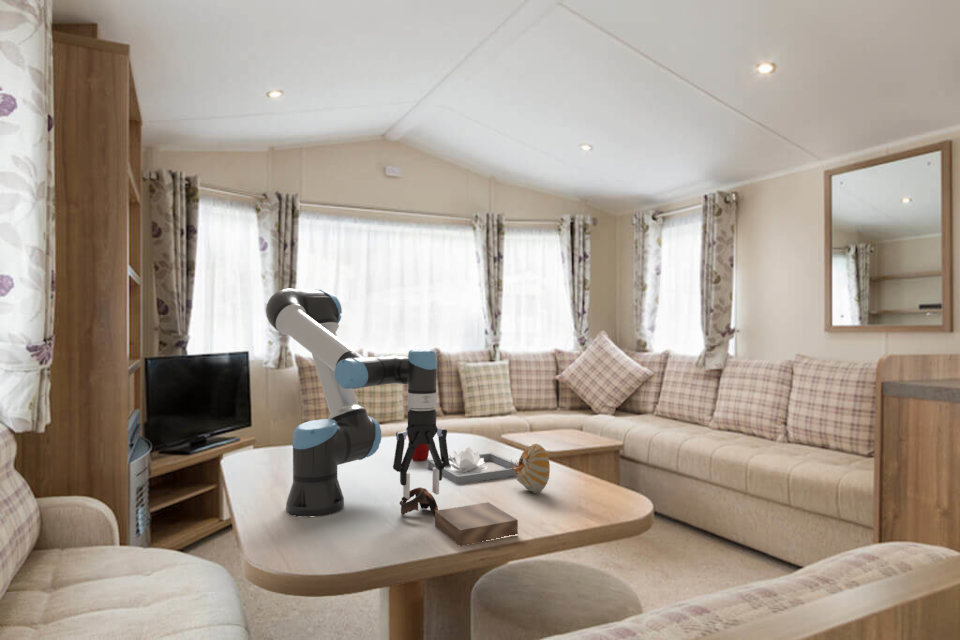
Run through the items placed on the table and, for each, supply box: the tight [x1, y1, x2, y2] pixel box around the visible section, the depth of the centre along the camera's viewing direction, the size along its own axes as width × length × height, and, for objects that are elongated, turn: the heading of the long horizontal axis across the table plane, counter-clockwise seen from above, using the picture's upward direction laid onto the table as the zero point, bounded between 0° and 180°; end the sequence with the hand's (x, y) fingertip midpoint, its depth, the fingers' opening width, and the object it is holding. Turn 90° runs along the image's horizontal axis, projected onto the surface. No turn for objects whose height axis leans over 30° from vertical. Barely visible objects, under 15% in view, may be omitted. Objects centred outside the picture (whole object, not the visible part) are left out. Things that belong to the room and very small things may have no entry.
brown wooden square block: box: [434, 501, 519, 547], centre depth 143 cm, size 15×15×5 cm
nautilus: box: [510, 443, 551, 494], centre depth 179 cm, size 8×22×15 cm, turn 24°
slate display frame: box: [427, 452, 519, 485], centre depth 202 cm, size 25×24×2 cm
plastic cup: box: [404, 427, 430, 462], centre depth 219 cm, size 11×11×12 cm
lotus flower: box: [448, 446, 489, 475], centre depth 199 cm, size 14×15×9 cm
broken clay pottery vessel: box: [399, 487, 439, 515], centre depth 157 cm, size 12×9×8 cm
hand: (421, 494), depth 155 cm, fingers open, 8 cm apart
